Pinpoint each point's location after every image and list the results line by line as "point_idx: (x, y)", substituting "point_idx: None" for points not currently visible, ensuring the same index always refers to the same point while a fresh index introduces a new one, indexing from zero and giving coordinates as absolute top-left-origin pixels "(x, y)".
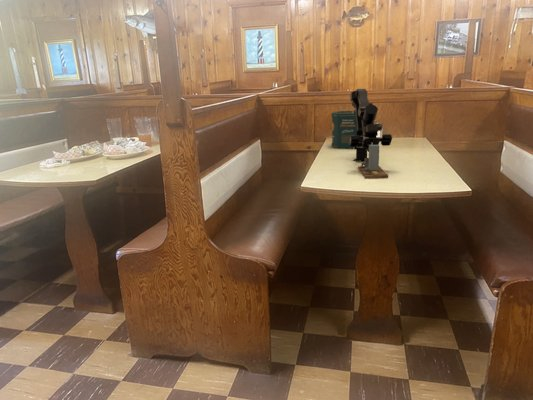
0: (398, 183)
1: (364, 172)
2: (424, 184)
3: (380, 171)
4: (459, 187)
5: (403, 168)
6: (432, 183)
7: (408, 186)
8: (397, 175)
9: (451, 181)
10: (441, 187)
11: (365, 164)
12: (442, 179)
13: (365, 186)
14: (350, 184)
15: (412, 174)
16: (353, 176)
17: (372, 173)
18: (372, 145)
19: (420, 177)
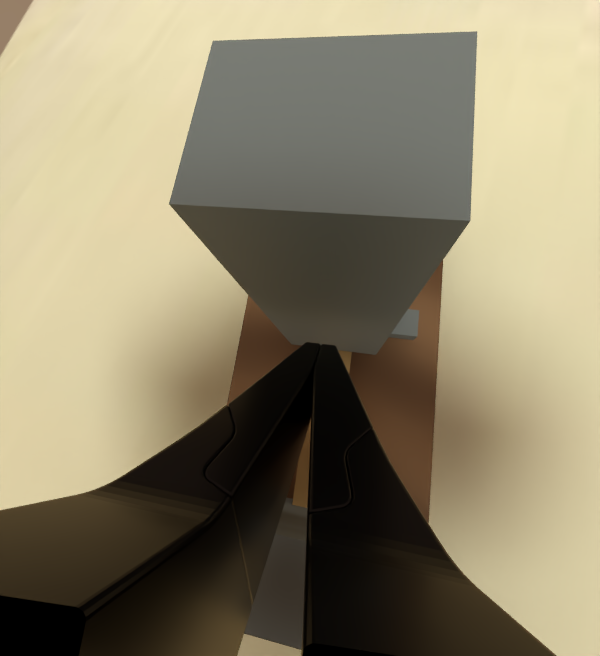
0: None
1: (422, 314)
2: (150, 58)
3: None
4: (46, 8)
5: (33, 464)
6: (105, 71)
7: (243, 31)
8: (184, 259)
9: (5, 95)
10: (111, 11)
11: None
12: (15, 133)
13: (484, 43)
14: (582, 89)
15: (84, 265)
16: (521, 298)
17: None
18: (384, 99)
19: (86, 187)
